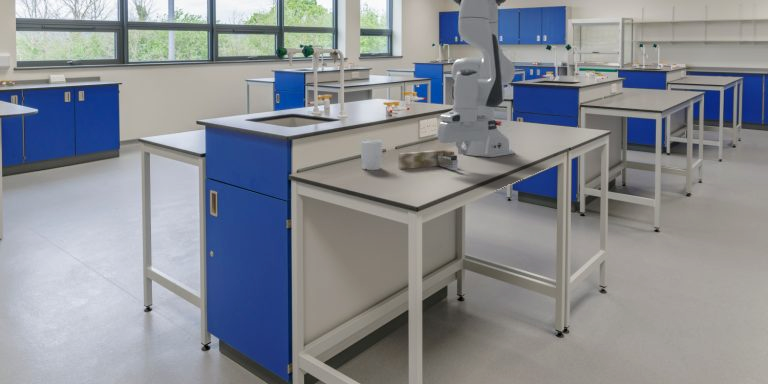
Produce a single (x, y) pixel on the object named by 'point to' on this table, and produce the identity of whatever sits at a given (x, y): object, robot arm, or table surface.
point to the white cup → (371, 154)
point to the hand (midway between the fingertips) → (462, 154)
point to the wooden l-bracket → (421, 158)
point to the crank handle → (447, 161)
